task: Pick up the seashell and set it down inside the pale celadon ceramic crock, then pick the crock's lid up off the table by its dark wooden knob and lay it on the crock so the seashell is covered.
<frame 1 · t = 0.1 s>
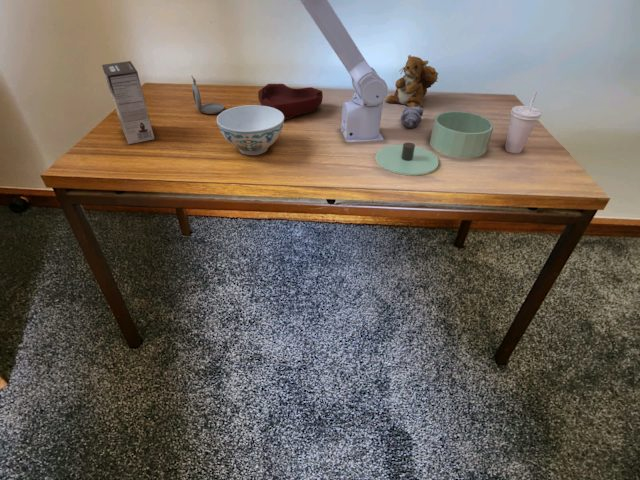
coffee box: (138, 135, 99), on the table
stuffed squirrel: (410, 102, 120), on the table
crock: (457, 147, 97), on the table
smoothie: (512, 150, 96), on the table
lid: (406, 160, 90), point 1 cm above the table
chinaware: (253, 149, 94), on the table
dark red heart-shaped dish: (287, 112, 112), on the table
pocket watch: (208, 111, 112), on the table
seashell: (410, 126, 107), on the table
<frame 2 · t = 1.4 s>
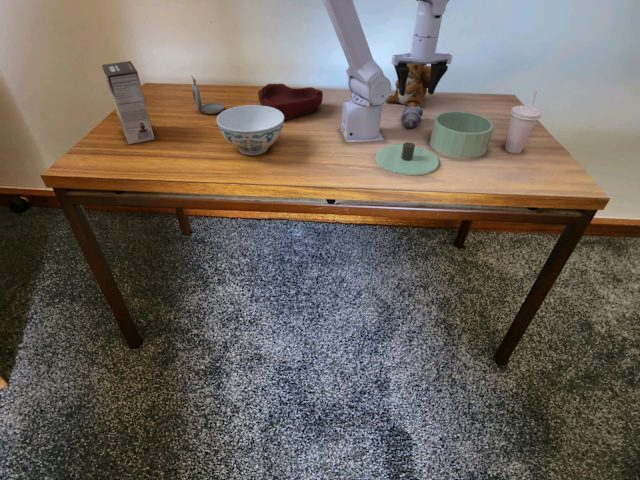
hand: (415, 93, 101), 8 cm above the table, tool pointing down, fingers open, 7 cm apart
nothing on the table moved.
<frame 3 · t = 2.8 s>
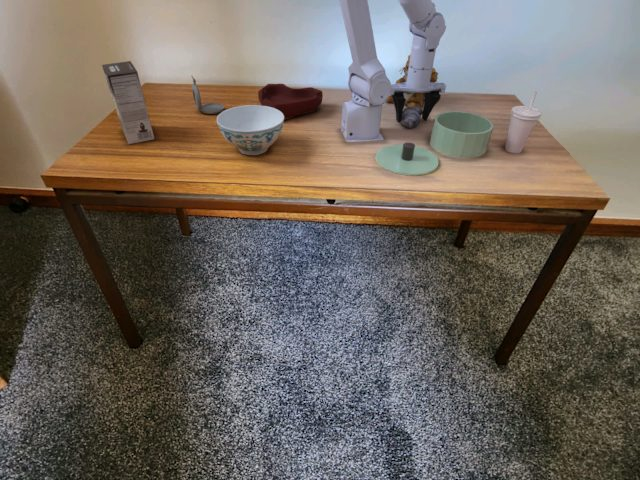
hand: (411, 120, 106), 1 cm above the table, tool pointing down, fingers closed on seashell, 6 cm apart
seashell: (410, 125, 107), on the table, touching gripper
everything else where it was.
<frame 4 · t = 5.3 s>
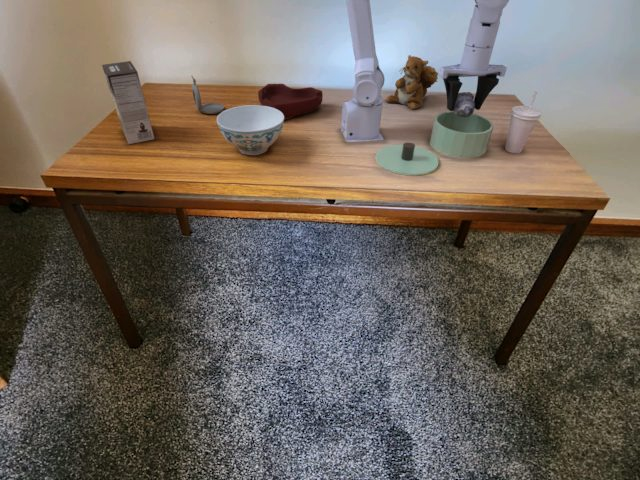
hand: (463, 108, 91), 9 cm above the table, tool pointing down, fingers closed on seashell, 6 cm apart
seashell: (460, 114, 93), point 8 cm above the table, touching gripper
everything else where it was.
when the fingers open (2 cm above the table, at t = 7.9 s): seashell stays where it is, resting on crock.
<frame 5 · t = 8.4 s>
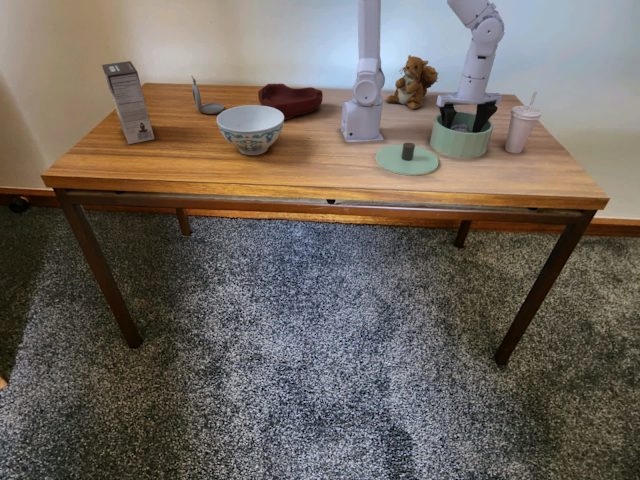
hand: (460, 134, 95), 3 cm above the table, tool pointing down, fingers open, 7 cm apart
seashell: (456, 145, 97), resting on crock
everything else where it was.
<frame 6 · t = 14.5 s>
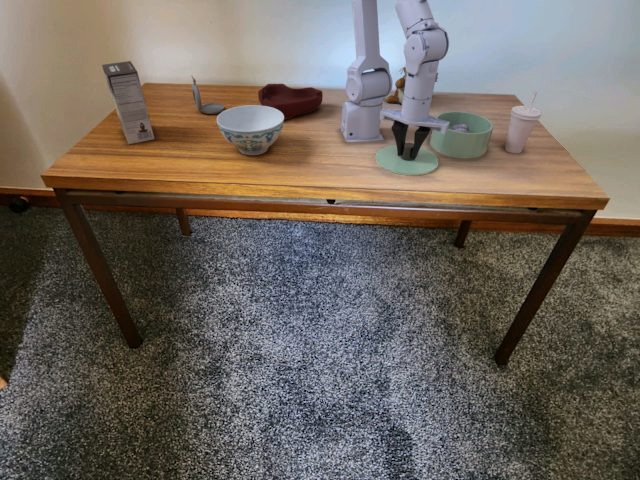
hand: (407, 156, 89), 2 cm above the table, tool pointing down, fingers closed on lid, 2 cm apart
lid: (406, 160, 90), point 1 cm above the table, touching gripper
everything else where it was.
when the fingers open (7 cm above the table, at t = 18.1 s): lid stays where it is, resting on crock.
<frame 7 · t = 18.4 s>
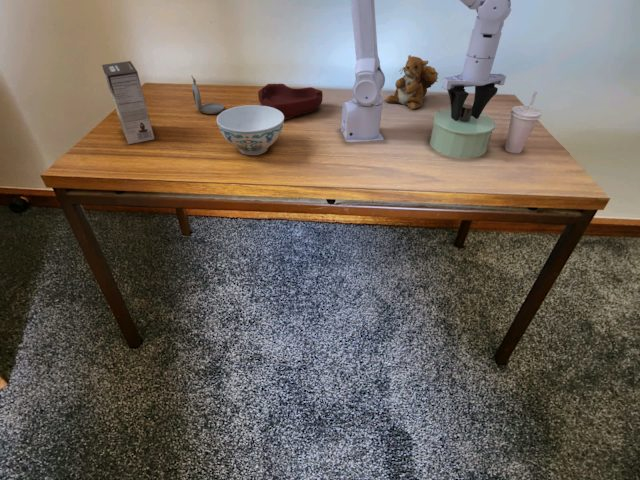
hand: (464, 118, 92), 7 cm above the table, tool pointing down, fingers open, 5 cm apart
lid: (463, 122, 93), point 6 cm above the table, touching crock
everything else where it was.
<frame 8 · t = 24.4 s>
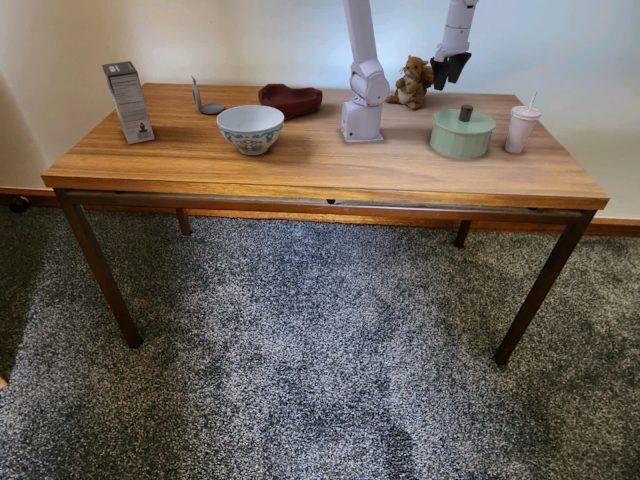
hand: (445, 86, 100), 10 cm above the table, tool pointing down, fingers open, 7 cm apart
nothing on the table moved.
at the end: seashell inside the target area in the crock (0.5 cm from its centre), point 0.2 cm above the crock's base; lid 0.1 cm off-centre on the crock, point 6.4 cm above the crock's base; lid tilted 0° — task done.
